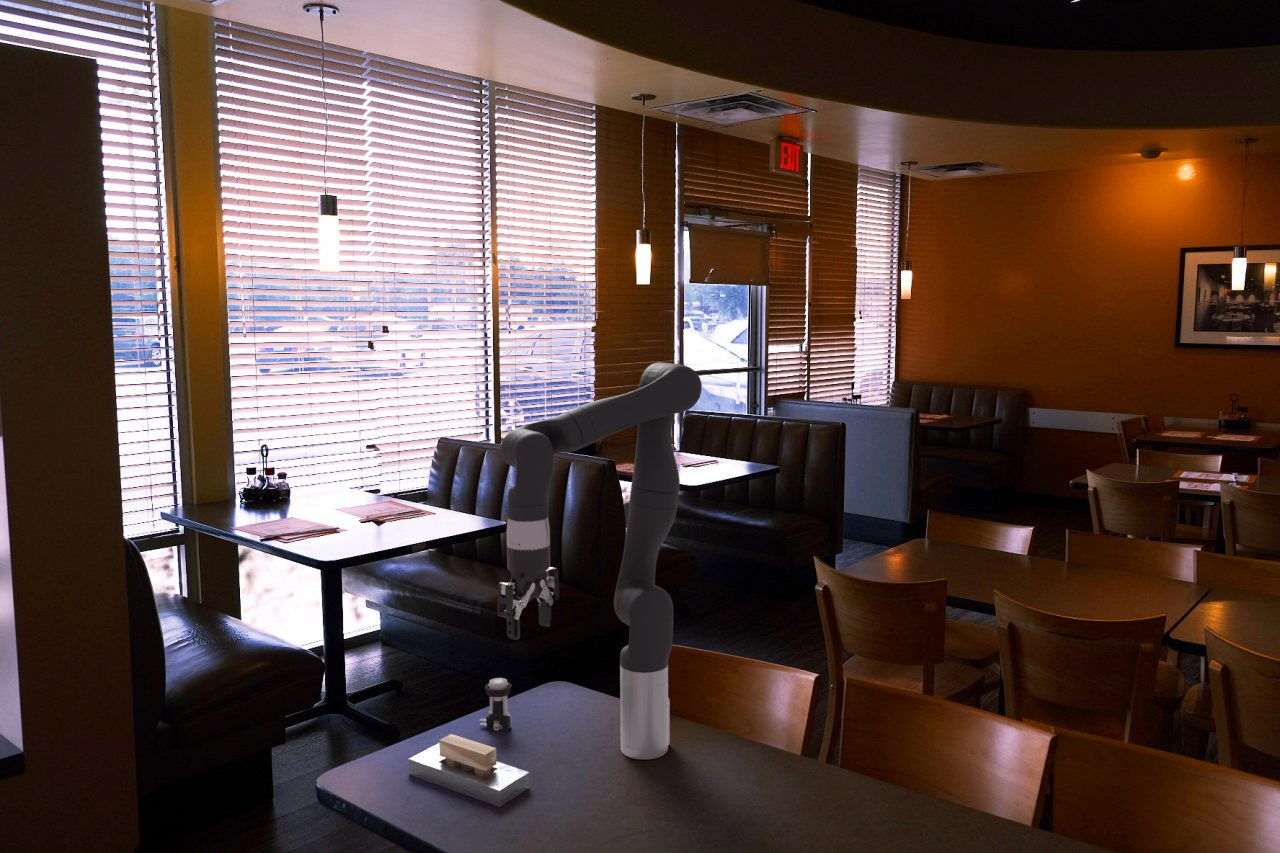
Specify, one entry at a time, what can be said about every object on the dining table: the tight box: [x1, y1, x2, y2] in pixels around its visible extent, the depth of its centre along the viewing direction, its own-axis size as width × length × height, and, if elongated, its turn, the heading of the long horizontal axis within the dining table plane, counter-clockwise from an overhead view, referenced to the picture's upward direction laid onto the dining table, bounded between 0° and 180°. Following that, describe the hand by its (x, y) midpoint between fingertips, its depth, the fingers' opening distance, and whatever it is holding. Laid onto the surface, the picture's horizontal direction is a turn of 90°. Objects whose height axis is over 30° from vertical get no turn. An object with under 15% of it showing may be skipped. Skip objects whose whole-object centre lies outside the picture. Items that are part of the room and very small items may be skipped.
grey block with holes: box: [408, 742, 530, 808], centre depth 175 cm, size 8×22×3 cm, turn 57°
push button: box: [479, 677, 512, 732], centre depth 197 cm, size 7×5×10 cm
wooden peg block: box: [438, 733, 497, 778], centre depth 175 cm, size 3×11×7 cm, turn 57°
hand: (529, 632), depth 172 cm, fingers open, 8 cm apart
